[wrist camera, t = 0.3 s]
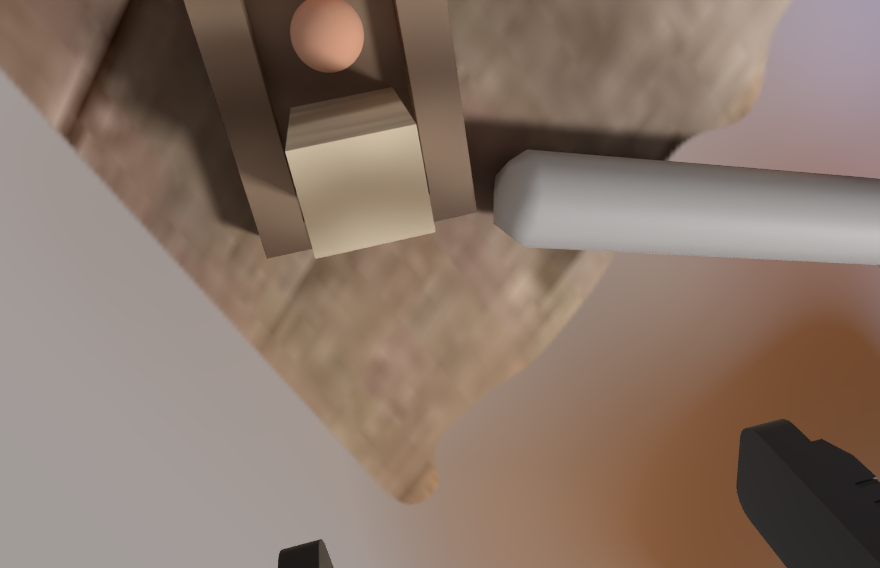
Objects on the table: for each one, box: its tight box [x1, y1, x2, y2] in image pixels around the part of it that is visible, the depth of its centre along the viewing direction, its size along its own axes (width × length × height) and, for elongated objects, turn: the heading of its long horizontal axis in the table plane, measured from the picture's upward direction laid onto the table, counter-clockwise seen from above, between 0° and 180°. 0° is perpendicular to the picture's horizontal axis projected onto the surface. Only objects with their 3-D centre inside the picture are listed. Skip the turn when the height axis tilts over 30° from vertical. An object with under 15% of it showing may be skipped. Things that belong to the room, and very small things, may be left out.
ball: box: [290, 0, 364, 73], centre depth 28 cm, size 3×3×3 cm
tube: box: [494, 149, 880, 267], centre depth 36 cm, size 5×5×25 cm
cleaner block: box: [285, 87, 436, 259], centre depth 29 cm, size 4×5×8 cm
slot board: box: [184, 0, 477, 259], centre depth 30 cm, size 16×11×2 cm
